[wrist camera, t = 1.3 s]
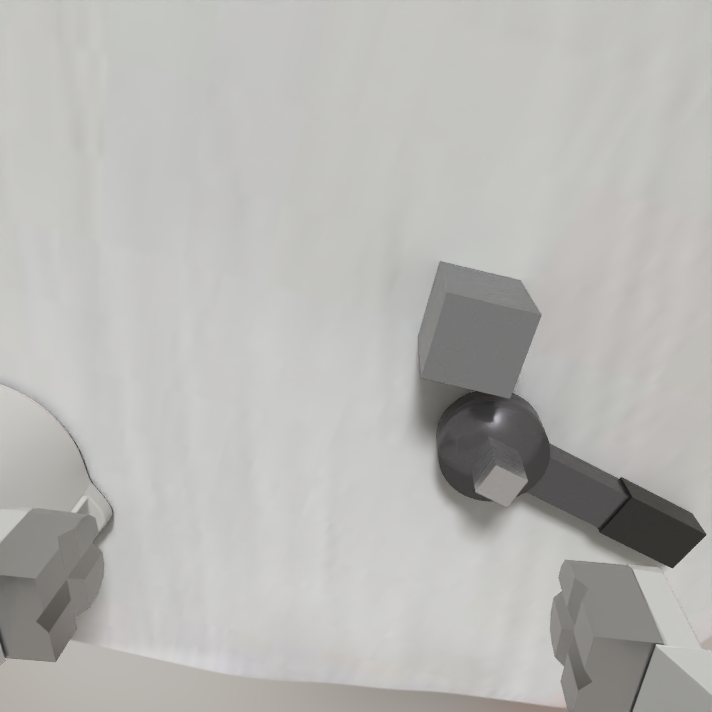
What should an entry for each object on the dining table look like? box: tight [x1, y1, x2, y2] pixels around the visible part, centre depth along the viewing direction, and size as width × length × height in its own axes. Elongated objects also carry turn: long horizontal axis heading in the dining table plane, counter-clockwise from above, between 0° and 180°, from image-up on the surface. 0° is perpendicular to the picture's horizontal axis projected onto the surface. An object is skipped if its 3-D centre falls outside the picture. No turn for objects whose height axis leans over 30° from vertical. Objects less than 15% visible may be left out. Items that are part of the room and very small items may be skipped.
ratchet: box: [437, 391, 706, 568], centre depth 39 cm, size 7×19×6 cm, turn 62°
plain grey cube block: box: [418, 261, 541, 399], centre depth 35 cm, size 5×5×6 cm
